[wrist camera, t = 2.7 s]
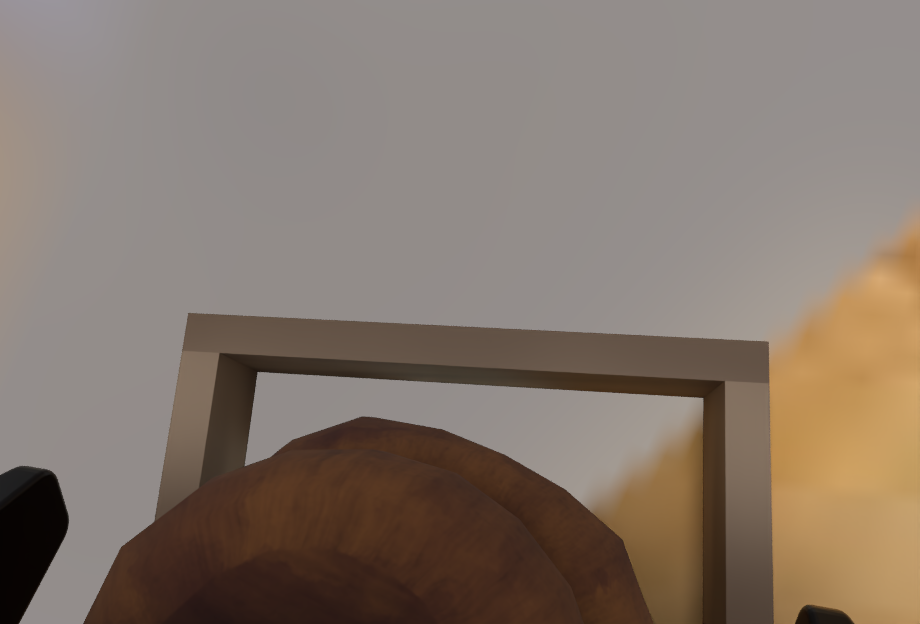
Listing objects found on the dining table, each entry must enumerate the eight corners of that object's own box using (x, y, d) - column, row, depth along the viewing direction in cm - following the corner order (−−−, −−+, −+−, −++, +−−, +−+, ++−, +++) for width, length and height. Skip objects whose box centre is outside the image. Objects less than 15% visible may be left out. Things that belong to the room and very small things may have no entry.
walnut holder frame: (747, 928, 15) (780, 997, 13) (153, 847, 16) (93, 896, 14) (741, 363, 17) (768, 341, 15) (229, 336, 19) (188, 312, 17)
